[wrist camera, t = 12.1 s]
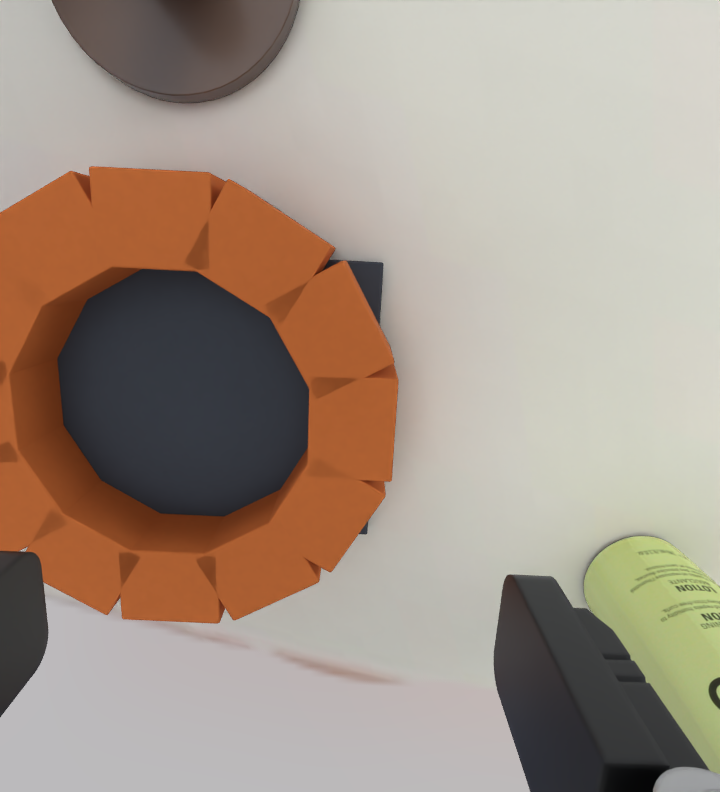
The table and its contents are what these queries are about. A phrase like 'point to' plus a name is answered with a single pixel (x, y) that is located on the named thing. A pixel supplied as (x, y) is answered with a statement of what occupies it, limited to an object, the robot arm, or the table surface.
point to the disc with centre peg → (180, 42)
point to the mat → (187, 392)
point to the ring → (252, 283)
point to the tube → (665, 629)
